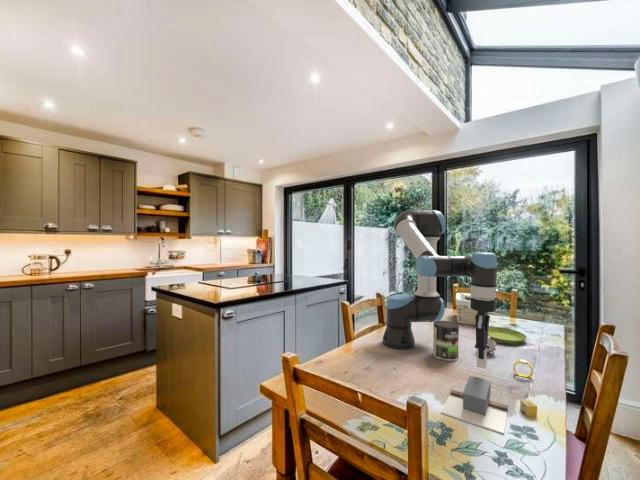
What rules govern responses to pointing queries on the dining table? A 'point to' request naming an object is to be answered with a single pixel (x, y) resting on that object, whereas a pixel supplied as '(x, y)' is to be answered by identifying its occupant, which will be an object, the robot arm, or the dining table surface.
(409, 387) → the dining table surface
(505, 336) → the saucer
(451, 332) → the coffee can
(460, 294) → the storage basket
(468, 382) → the tall block
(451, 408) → the mat
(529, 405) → the alphabet block
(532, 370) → the watch
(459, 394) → the bar
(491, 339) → the game die
